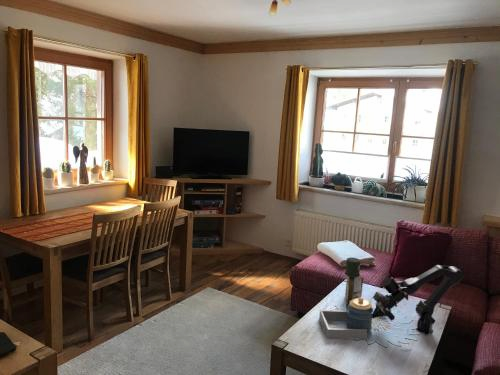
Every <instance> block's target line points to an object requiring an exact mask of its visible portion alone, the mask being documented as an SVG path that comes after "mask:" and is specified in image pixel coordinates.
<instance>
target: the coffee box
mask: <svg viewBox="0 0 500 375" xmlns="http://www.w3.org/2000/svg"><path fill="white" fill-rule="evenodd" d="M363 285H364V277H363V276H362V275H360V276H359V277H355V280H354V286H353V296H352V300H353V299H356V298H360V297H361V298H362V296H363V295H362V294H363ZM348 289H349V276H347V275H346V282H345V293H344V294H345V296H344V297H345V298H346V300H347V299H348Z"/></svg>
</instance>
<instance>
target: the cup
mask: <svg viewBox="0 0 500 375" xmlns="http://www.w3.org/2000/svg"><path fill="white" fill-rule="evenodd" d="M369 300H370V301H369V302H370V303H371V305H372V308H373V309H375V308H376V306H375V305H373V303H372V300H373V297H371V298H370V299H369ZM375 303H378V302H377V301H376V300H375Z"/></svg>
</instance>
